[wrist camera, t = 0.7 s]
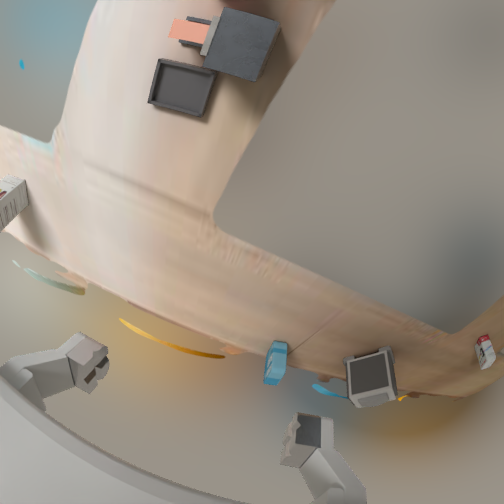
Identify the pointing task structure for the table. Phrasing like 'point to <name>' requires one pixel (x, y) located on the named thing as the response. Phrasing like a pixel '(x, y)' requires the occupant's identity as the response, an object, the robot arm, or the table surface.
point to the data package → (275, 363)
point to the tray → (181, 86)
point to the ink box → (485, 352)
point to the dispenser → (238, 43)
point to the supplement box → (11, 199)
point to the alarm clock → (371, 378)
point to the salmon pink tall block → (189, 31)
